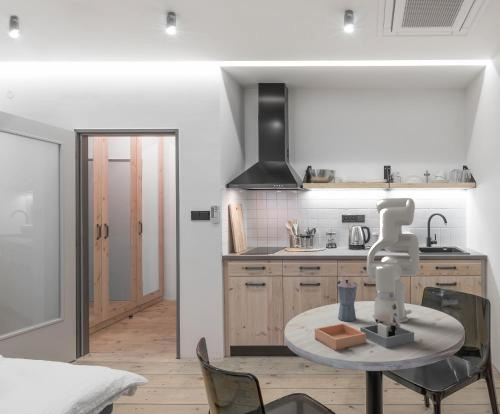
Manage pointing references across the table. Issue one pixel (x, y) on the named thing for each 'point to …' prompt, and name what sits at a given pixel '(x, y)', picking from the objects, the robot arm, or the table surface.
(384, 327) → the stone block
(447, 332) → the table surface
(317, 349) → the table surface
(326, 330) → the bin
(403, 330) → the bin
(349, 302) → the moka pot
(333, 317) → the table surface
